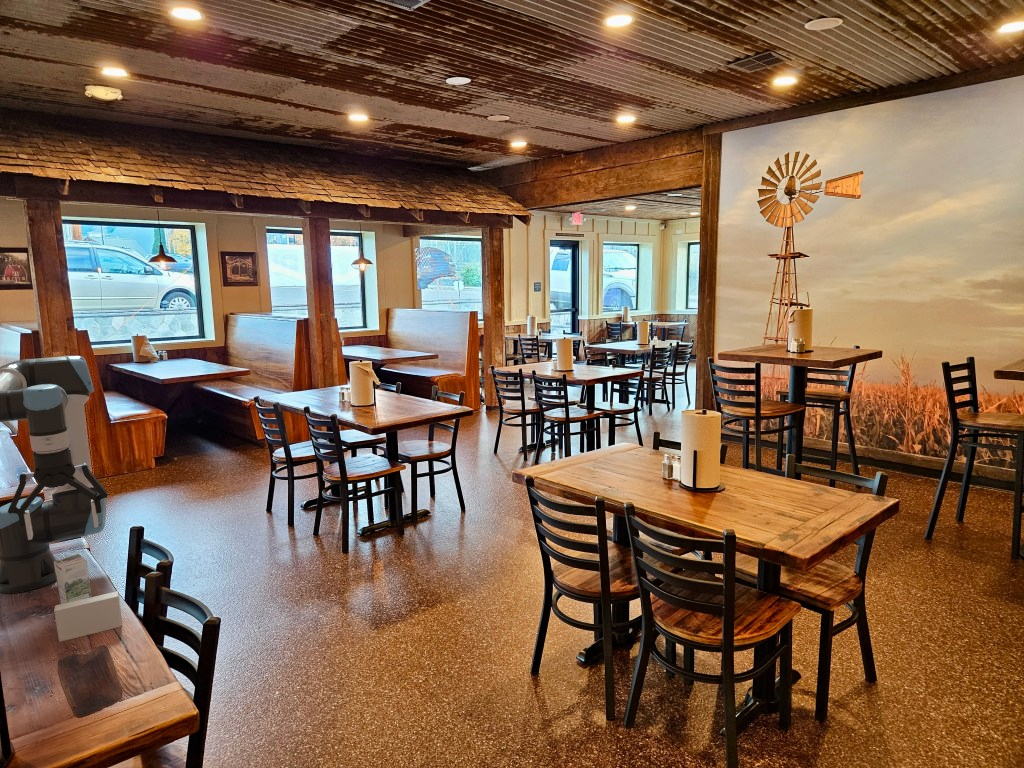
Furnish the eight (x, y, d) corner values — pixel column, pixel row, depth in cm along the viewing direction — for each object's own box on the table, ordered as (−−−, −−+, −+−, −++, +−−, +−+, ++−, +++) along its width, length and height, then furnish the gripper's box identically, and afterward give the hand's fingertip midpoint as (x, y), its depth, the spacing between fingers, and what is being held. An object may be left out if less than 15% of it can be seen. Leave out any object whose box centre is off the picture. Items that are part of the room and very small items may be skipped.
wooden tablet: (126, 696, 136) (68, 712, 130) (126, 707, 136) (68, 723, 130) (107, 641, 157) (56, 653, 150) (107, 650, 157) (56, 662, 151)
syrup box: (85, 603, 176) (78, 552, 174) (94, 610, 173) (86, 558, 170) (61, 612, 172) (52, 560, 169) (69, 620, 168) (60, 566, 166)
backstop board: (60, 635, 161) (55, 605, 160) (122, 620, 167) (118, 591, 166) (59, 641, 158) (54, 610, 157) (122, 626, 165) (117, 596, 163)
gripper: (-17, 462, 151) (-1, 548, 156) (111, 445, 163) (122, 526, 168) (-11, 453, 157) (4, 536, 162) (111, 437, 170) (122, 515, 174)
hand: (64, 531), depth 165 cm, fingers open, 13 cm apart
